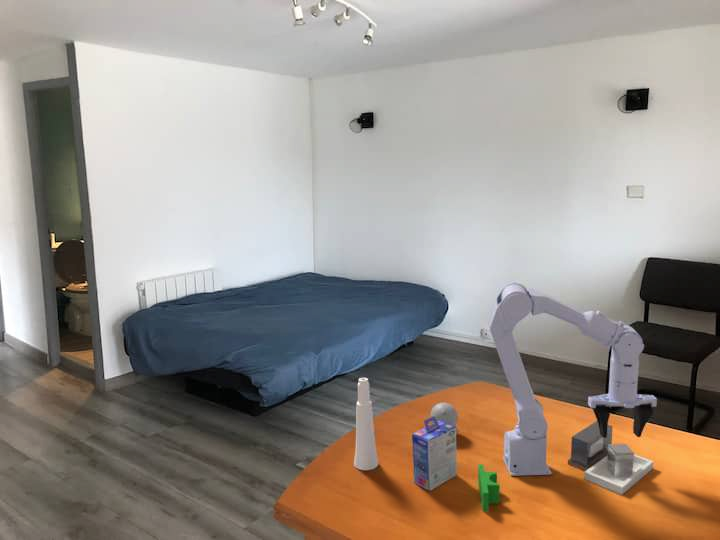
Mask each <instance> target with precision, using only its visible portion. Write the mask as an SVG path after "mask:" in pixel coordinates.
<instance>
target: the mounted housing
mask: <svg viewBox="0 0 720 540" xmlns="http://www.w3.org/2000/svg"><path fill="white" fill-rule="evenodd" d="M613 427H614V426H613V425H610V424H608V425H607V438H603V437H602V436H601V435H600V430H599V425H598V422H597V420H596V421H595V422H593V423H591V424H590V425H588V426H586V427H585V428H584V429H582V430H580V431H579V432H576V433H575V434H574V435H572V436H571V447H570V448H571V449H570V458H569V459H568V460H567V465H568V466H569V465H570V466H572V467H573V468H577V469H579V470H581V471H583V472H585V471H586V470H588V469H589V468H591V467H592V466H593V465H595V464H596V463H597V462H599V461H600V460H601V459H603V458H604V457H606V456H607V455H608V444H613V443H612V441H613Z"/></svg>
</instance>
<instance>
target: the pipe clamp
mask: <svg viewBox="0 0 720 540" xmlns="http://www.w3.org/2000/svg"><path fill="white" fill-rule="evenodd" d="M477 469H478V471H477V473H478V475H477V480H478V481H477V484H478V488H479V497H480V502H481V508H482V512H484V513H485V512H486V513H489V504H496V505H497V504H498V505H499V504H500V483H499V482H498V472H497V471H485V466H484V464H478V465H477Z"/></svg>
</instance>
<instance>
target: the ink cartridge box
mask: <svg viewBox="0 0 720 540" xmlns="http://www.w3.org/2000/svg"><path fill="white" fill-rule="evenodd" d="M432 421H434V422H435V423H431V424H430V425H429V423H430V422H432ZM423 423H424V425H425V426H424V427H423V428H422V429H419V430H418V431H415V432H413V433H412V434H411V438H412V439H411V441H412V443H411V445H412V459H413V460H412V463H413V480H414V481H413V482H414V484H417V485H418V486H420V487H421V488H423V489H425V490H426V491H429V492H430V491H432V490H434V489H435V488H437V487H439V486H440V485H442V484H444V483H445V482H447V481H449V480H451V479H452V478H454V477H456V476H458V468H457V467H458V465H457V462H458V461H457V456H458V455H457V434H456V427H455V426H453V425H450V424H448V423H446V422H443V421H440V420H439V421H437V420H436V418H435V416H433V417H429V418H427V419H424V420H423Z"/></svg>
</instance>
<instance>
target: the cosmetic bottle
mask: <svg viewBox="0 0 720 540" xmlns="http://www.w3.org/2000/svg"><path fill="white" fill-rule="evenodd" d="M370 398H371V396H370V383H369V379H368V378H367V377H360V378H358V383H357V402H356V406H355V407H356V408H355V409H356V411H355V414H356V416H355V420H356V421H355V423H356V425H355V428H356V429H355V451H354V452H355V453H354V459H353V460H354V461H353V466H354V467H355V468H356V469H358V470H359V471H371V470H375V469H376V468H377V467H378V466H379V458H378V455H377V448H376V447H377V446H376V440H375V437H376V436H375V426H374V416H373V415H374V413H373V405H372V404H373V403H372V401H371V400H370Z"/></svg>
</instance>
